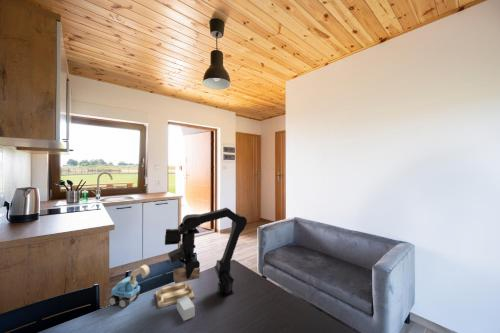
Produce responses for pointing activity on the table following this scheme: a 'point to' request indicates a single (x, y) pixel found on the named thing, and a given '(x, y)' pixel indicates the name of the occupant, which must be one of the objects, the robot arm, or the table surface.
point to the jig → (173, 294)
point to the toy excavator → (128, 288)
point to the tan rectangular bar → (184, 275)
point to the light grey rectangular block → (185, 307)
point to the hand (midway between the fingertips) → (186, 276)
